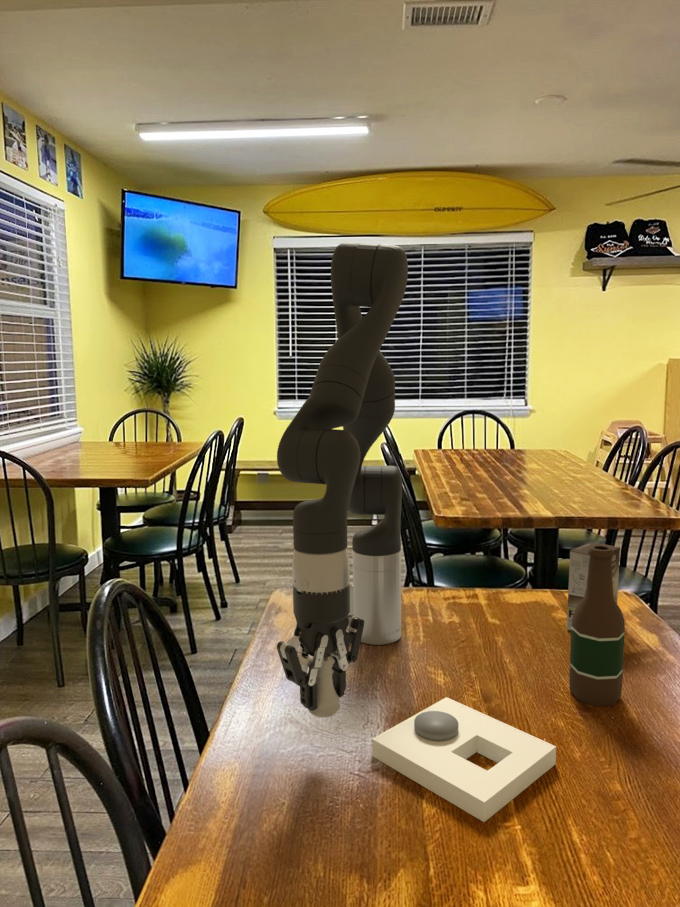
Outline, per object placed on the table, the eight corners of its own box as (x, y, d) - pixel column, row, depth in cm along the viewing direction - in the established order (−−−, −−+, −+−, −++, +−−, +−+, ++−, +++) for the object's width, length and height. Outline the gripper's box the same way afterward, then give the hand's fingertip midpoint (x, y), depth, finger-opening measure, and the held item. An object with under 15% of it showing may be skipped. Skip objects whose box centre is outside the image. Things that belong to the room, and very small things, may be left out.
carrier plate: (372, 756, 90) (372, 731, 89) (446, 712, 100) (446, 690, 100) (484, 822, 76) (484, 794, 76) (555, 764, 87) (556, 739, 87)
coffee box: (597, 639, 126) (601, 556, 124) (565, 629, 130) (568, 550, 128) (617, 624, 132) (620, 546, 130) (586, 616, 137) (589, 540, 135)
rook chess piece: (336, 720, 87) (335, 663, 86) (303, 717, 88) (302, 660, 87) (343, 702, 92) (342, 648, 91) (312, 699, 93) (310, 645, 91)
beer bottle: (597, 712, 100) (603, 557, 96) (558, 690, 107) (563, 545, 103) (632, 699, 103) (640, 550, 100) (592, 679, 110) (598, 538, 107)
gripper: (341, 561, 95) (343, 674, 97) (260, 586, 85) (264, 710, 88) (379, 573, 89) (380, 692, 92) (297, 601, 80) (300, 733, 82)
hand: (323, 700), depth 90 cm, fingers closed on rook chess piece, 4 cm apart
